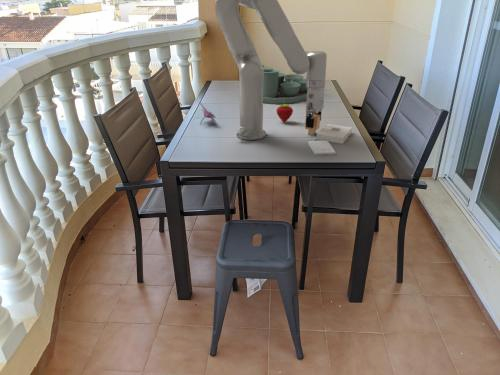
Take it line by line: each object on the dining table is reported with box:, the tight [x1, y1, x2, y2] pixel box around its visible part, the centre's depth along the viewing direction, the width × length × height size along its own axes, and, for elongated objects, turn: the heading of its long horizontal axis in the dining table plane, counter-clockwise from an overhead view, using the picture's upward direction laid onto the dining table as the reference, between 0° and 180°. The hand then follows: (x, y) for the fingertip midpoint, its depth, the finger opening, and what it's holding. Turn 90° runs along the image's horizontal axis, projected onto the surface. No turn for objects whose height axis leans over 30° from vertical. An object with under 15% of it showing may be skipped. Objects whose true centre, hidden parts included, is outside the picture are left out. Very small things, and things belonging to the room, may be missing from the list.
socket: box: [315, 123, 353, 145], centre depth 169 cm, size 14×11×2 cm
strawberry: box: [276, 103, 294, 123], centre depth 184 cm, size 6×8×10 cm
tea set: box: [262, 64, 308, 105], centre depth 227 cm, size 40×40×16 cm
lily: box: [198, 101, 217, 126], centre depth 184 cm, size 12×12×10 cm
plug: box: [304, 113, 321, 136], centre depth 171 cm, size 4×5×8 cm
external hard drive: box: [307, 140, 337, 156], centre depth 158 cm, size 2×8×12 cm
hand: (313, 123), depth 171 cm, fingers open, 9 cm apart
